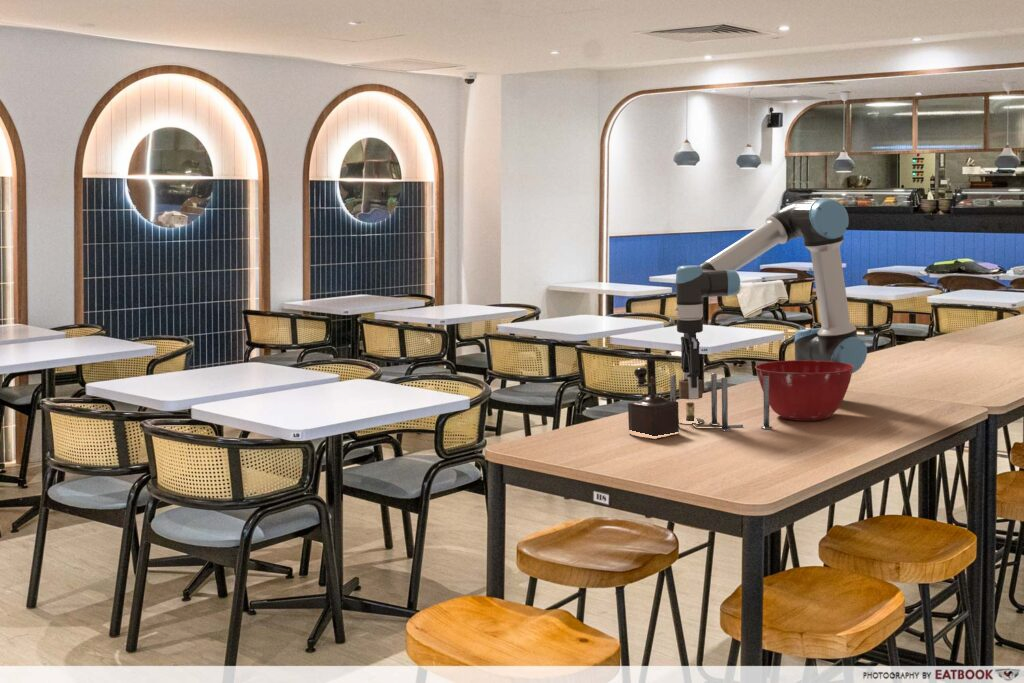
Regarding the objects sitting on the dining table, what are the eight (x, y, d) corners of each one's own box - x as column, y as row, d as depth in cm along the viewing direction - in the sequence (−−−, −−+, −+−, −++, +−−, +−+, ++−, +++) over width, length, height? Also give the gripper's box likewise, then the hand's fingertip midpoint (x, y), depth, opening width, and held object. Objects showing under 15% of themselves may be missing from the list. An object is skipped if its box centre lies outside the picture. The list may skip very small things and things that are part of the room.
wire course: (667, 425, 335) (666, 374, 333) (762, 421, 336) (761, 370, 334) (675, 433, 323) (674, 381, 322) (773, 429, 325) (773, 376, 323)
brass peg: (674, 420, 342) (674, 401, 342) (700, 419, 343) (700, 400, 342) (679, 425, 334) (679, 406, 334) (706, 424, 335) (706, 404, 334)
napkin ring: (677, 396, 340) (677, 379, 340) (698, 395, 341) (698, 378, 340) (682, 399, 334) (682, 382, 333) (703, 398, 334) (703, 381, 334)
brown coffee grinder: (681, 434, 323) (680, 370, 320) (654, 440, 316) (653, 375, 313) (642, 426, 335) (640, 365, 332) (614, 432, 328) (613, 370, 325)
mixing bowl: (768, 406, 360) (767, 357, 358) (861, 410, 347) (861, 360, 345) (745, 423, 335) (744, 370, 333) (845, 428, 322) (845, 374, 320)
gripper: (670, 315, 344) (671, 391, 347) (684, 322, 324) (685, 402, 327) (694, 314, 344) (696, 390, 347) (710, 321, 325) (711, 401, 328)
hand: (690, 396), depth 337 cm, fingers closed on napkin ring, 6 cm apart
